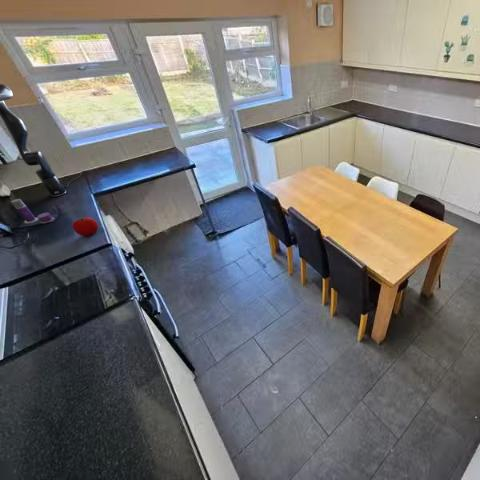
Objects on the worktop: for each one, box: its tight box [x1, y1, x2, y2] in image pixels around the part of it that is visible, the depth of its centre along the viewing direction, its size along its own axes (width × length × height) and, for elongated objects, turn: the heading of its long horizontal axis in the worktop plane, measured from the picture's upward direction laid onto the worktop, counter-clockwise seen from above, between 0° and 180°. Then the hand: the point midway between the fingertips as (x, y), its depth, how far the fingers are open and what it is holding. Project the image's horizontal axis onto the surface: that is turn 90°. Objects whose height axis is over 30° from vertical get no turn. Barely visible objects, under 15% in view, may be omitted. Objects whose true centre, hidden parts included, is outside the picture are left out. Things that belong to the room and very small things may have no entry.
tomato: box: [72, 216, 99, 237], centre depth 165 cm, size 12×12×11 cm
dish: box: [37, 212, 53, 224], centre depth 180 cm, size 6×6×4 cm
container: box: [10, 198, 36, 222], centre depth 176 cm, size 5×5×15 cm
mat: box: [17, 213, 60, 229], centre depth 181 cm, size 11×19×1 cm, turn 112°
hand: (2, 166), depth 174 cm, fingers open, 8 cm apart
